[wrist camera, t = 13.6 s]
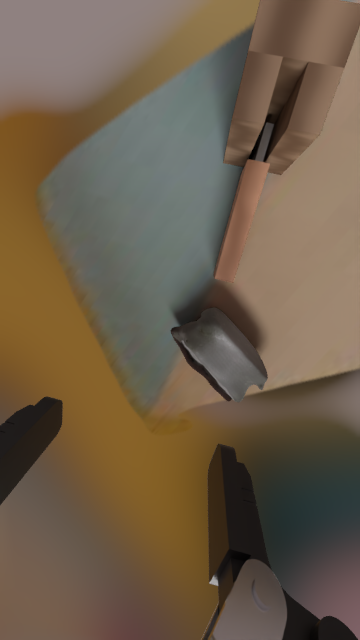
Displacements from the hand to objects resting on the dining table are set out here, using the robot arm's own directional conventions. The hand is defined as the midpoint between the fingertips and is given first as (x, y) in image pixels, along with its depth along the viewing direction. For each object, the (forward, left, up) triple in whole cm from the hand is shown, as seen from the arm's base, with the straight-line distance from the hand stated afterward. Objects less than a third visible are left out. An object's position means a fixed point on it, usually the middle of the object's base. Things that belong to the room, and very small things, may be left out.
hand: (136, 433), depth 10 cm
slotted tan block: (-5, -27, -30) cm, 41 cm away
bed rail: (-5, -16, -30) cm, 34 cm away
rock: (-9, +9, -31) cm, 33 cm away
